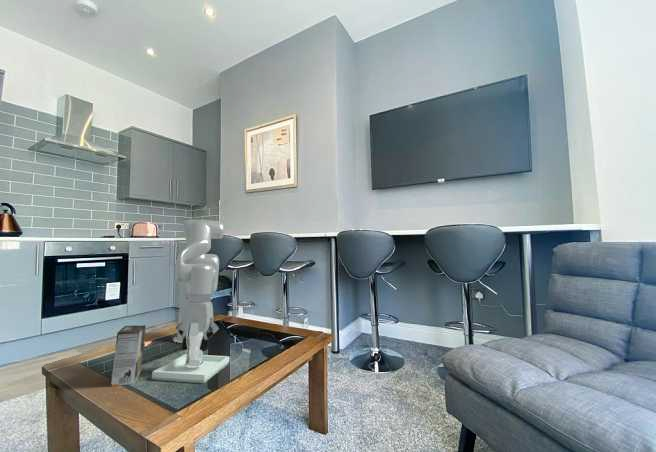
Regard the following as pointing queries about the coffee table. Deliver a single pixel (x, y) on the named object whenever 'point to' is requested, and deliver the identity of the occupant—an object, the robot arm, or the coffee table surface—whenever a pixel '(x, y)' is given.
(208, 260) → the robot arm
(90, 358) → the coffee table surface
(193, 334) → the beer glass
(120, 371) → the coffee box
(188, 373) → the tray
